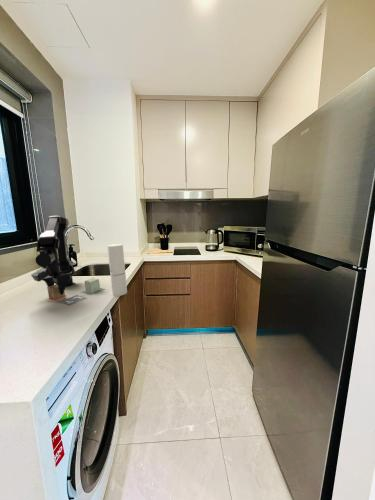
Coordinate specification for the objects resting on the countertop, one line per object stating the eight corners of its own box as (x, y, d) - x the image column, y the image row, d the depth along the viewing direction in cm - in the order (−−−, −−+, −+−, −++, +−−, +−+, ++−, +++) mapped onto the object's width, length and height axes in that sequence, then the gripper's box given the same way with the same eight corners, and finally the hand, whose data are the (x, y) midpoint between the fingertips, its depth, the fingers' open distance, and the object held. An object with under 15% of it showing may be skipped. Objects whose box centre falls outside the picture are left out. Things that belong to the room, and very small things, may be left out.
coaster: (44, 300, 99) (44, 299, 99) (61, 294, 105) (61, 293, 105) (53, 303, 95) (53, 302, 95) (70, 296, 101) (70, 296, 101)
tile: (58, 302, 95) (58, 301, 95) (76, 295, 103) (76, 295, 103) (69, 306, 91) (69, 305, 91) (87, 298, 98) (87, 298, 98)
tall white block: (122, 290, 108) (117, 243, 104) (130, 292, 104) (125, 244, 99) (109, 294, 103) (104, 245, 98) (117, 297, 98) (112, 246, 94)
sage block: (85, 291, 107) (84, 280, 106) (94, 288, 111) (92, 278, 110) (91, 293, 104) (90, 282, 103) (100, 289, 109) (98, 279, 108)
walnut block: (49, 298, 99) (47, 287, 98) (59, 295, 103) (57, 283, 102) (54, 300, 97) (52, 288, 96) (65, 296, 101) (63, 285, 100)
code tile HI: (80, 292, 106) (79, 292, 106) (95, 287, 114) (95, 286, 114) (90, 295, 102) (90, 295, 102) (105, 289, 109) (105, 289, 109)
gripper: (22, 263, 95) (28, 295, 97) (42, 267, 85) (48, 302, 88) (48, 258, 104) (53, 287, 107) (69, 262, 95) (73, 293, 97)
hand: (56, 292), depth 100 cm, fingers open, 9 cm apart
